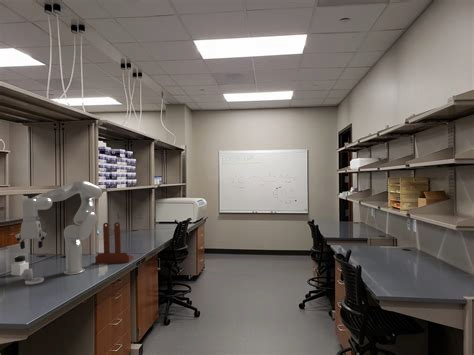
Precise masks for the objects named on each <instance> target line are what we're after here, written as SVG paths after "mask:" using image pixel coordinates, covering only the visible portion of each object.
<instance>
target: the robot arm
mask: <svg viewBox="0 0 474 355" xmlns="http://www.w3.org/2000/svg"><path fill="white" fill-rule="evenodd" d="M46 192H47V193H45V192H42V193H40V194H37V195H35V196H33V197H31V198H24V199H23V200H22V203H21V204H22V206H21V207H22V222H21V226H20V232H18V233H17V234H15V235H14V237H15V238H16V240H17V241H18V243H20V244H19V247H20V250H24V249H25V247H26V245H25V240H33V239H36V240H37V241H38V242H37V243H38V249H41V248H42V247H44V246H43V245H44V244H43V243H44V240H45V239H46V237H47V235H48V233H47V232H45V231H42V225H41V221H40V220H41V216H40V217H39V214H38V213H39V212H38V211H40V210H41V211H42V210H49V209H50V208H51V207H52V206H53V203H54V202H61V201H65V200H67V199H68V198H71V197H72V196H74V195H75V196H76V195H77V194H79V196H80V200H81V204H80V207H79V208H78V210H77V211H76V213H75V215H74V217H73V223H74V224H70V225H67V226H66V227H65V228H64V229H63V238H64V242H65V261H66V262H65V264H66V265H65V266H66V267H65V268H66V270H64V271H63V274H64V275H67V276H68V275H69V276H70V275H71V276H72V275H77V274H82V273H84V272H85V270H86V269H85V268H84V267H83V266H84V263H83V253H82V252H83V251H82V250H83V249H82V246H83V245H82V242H81V241H85V240H86V239H88V238H89V237H90V235H91V233H92V231H93V230H94V228H95V226H96V223H97V220H98V217H97V216H98V215H97V214H96V213H95V212H94V211H93V210H94V208H95V204H94V200H95V199H96V200H98V199H100V198H101V197H102V196H103V190H102V188H101V187H100V186H97V185H96V184H93V183H91V182H89V181H86V180H73V181H70V182H69V183H66V184H64V185H62V186H60V187H57V188H54V189H50V190H48V191H46Z"/></svg>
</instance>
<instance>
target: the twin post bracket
mask: <svg viewBox="0 0 474 355" xmlns="http://www.w3.org/2000/svg"><path fill="white" fill-rule="evenodd" d="M113 227H114V252H111V249H110V248H111V247H110V224H109V223H108V222H104V223H103V225H102V230H103V231H102V234H103V236H102V237H103V253H102V252H101V253H97V254H96V255H95V256H94V258H95V260H94V261H95V264H96V265H97V264H98V265H99V264H120V263H121V264H123V263H130V262H131V261H132V260H133V259H134V255H131V254H128V253H127V252H122V248H121V247H122V245H121V244H122V242H121V223H120V222H118V221H116V222H115V223H114V224H113Z"/></svg>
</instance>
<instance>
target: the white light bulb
mask: <svg viewBox="0 0 474 355" xmlns="http://www.w3.org/2000/svg"><path fill="white" fill-rule="evenodd" d="M33 273H34V272H33V268H29V269H25V270H24V272H23V273H22V275H21V276H22V277H23V280H24V281H26V280H28V279H32V278H34V276H33Z"/></svg>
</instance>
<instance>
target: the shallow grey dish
mask: <svg viewBox="0 0 474 355" xmlns="http://www.w3.org/2000/svg"><path fill="white" fill-rule="evenodd" d="M44 282H45V278H44V277H40V276H39V277H33V278H32V279H28V280H24V285H25V286H33V285H39V284H41V283H44Z"/></svg>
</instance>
